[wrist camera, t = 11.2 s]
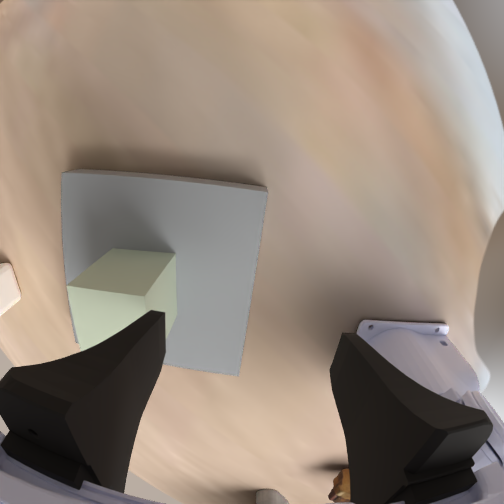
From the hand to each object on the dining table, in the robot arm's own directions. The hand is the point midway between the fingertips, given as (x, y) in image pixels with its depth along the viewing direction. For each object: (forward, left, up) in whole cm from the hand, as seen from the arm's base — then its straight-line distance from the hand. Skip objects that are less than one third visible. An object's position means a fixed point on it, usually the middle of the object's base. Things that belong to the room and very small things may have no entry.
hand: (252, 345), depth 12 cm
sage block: (+7, +2, -8) cm, 11 cm away
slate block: (+7, +2, -11) cm, 13 cm away
